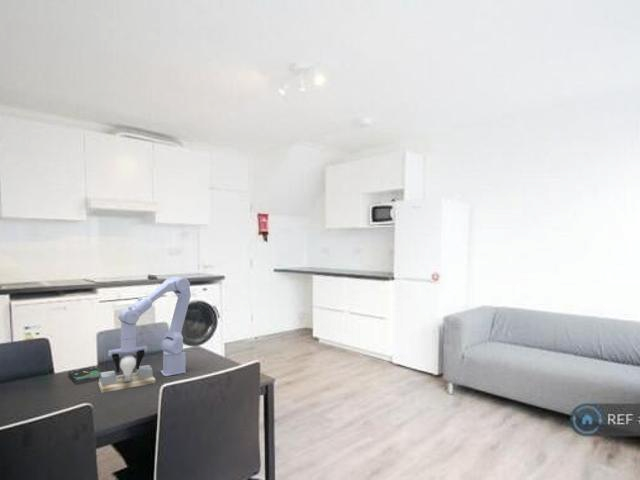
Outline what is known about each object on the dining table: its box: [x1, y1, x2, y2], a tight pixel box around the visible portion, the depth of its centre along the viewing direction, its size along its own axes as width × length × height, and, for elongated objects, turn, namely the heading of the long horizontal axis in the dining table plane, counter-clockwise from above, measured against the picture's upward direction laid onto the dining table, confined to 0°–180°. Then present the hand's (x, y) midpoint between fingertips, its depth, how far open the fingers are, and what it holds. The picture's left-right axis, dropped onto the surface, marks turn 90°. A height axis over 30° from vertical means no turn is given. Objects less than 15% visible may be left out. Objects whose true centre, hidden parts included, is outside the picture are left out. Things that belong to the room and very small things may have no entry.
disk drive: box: [67, 366, 101, 386], centre depth 168 cm, size 10×3×15 cm
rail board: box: [98, 364, 156, 394], centre depth 161 cm, size 20×11×5 cm, turn 125°
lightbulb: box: [119, 354, 137, 382], centre depth 159 cm, size 6×6×11 cm
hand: (127, 370), depth 160 cm, fingers open, 7 cm apart
